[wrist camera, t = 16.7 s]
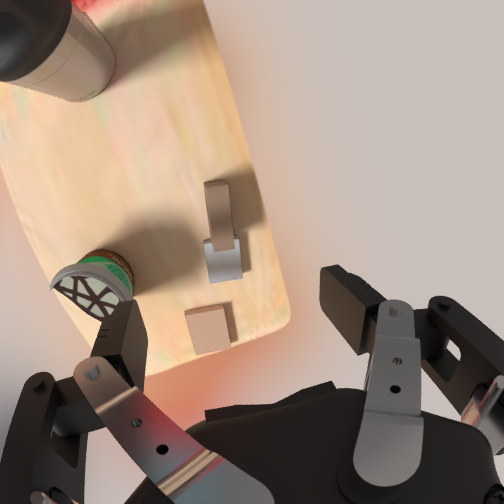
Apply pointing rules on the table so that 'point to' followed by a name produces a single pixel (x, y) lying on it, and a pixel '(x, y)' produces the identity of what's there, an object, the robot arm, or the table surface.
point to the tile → (208, 329)
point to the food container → (96, 283)
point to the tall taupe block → (221, 235)
